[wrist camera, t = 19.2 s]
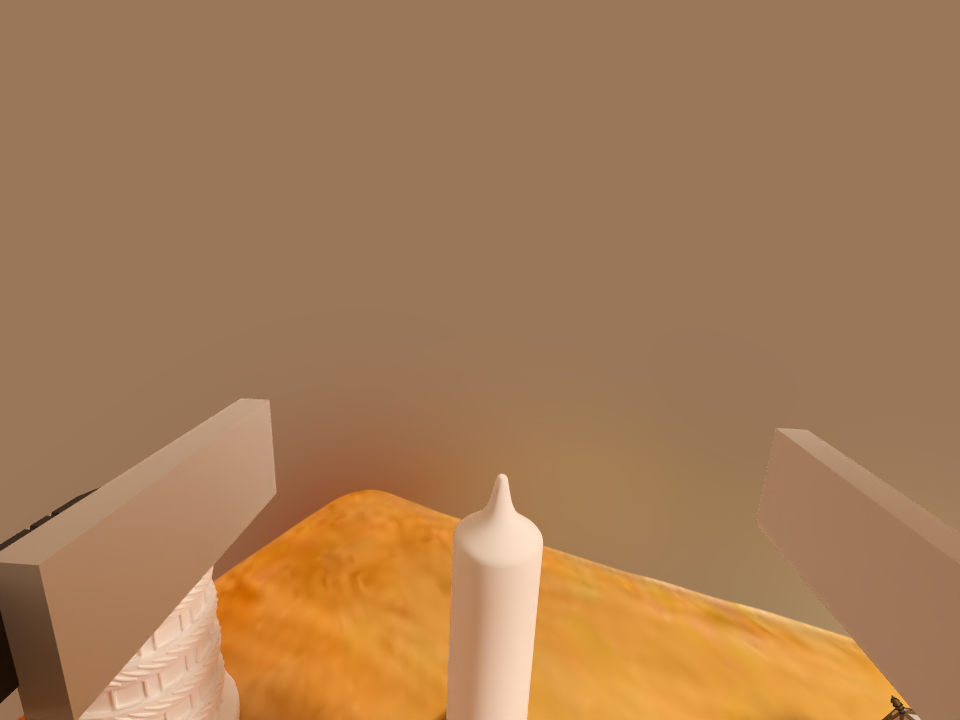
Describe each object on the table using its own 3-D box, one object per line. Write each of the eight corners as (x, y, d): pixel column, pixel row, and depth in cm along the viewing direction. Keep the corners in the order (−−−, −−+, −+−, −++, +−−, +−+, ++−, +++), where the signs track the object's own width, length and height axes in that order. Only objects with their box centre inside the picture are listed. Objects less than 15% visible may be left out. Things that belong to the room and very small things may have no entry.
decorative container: (265, 675, 42) (250, 486, 37) (186, 837, 31) (150, 595, 26) (129, 669, 42) (97, 479, 37) (0, 830, 31) (-69, 586, 26)
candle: (396, 845, 30) (397, 473, 23) (473, 757, 35) (492, 433, 29) (484, 958, 25) (516, 538, 19) (558, 838, 31) (603, 476, 24)
